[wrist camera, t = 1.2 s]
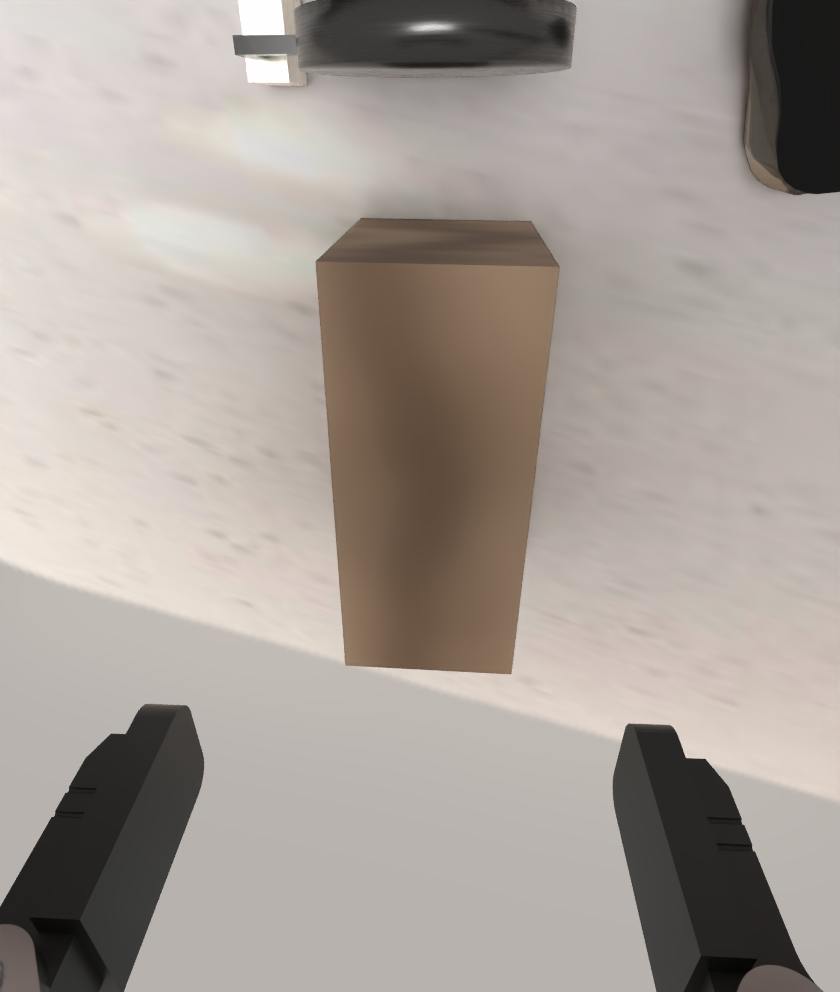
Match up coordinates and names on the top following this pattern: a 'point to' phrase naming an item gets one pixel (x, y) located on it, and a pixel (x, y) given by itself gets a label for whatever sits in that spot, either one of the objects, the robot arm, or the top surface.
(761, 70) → the black curved shell
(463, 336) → the walnut block
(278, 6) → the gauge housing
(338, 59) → the plunger
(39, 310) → the top surface
